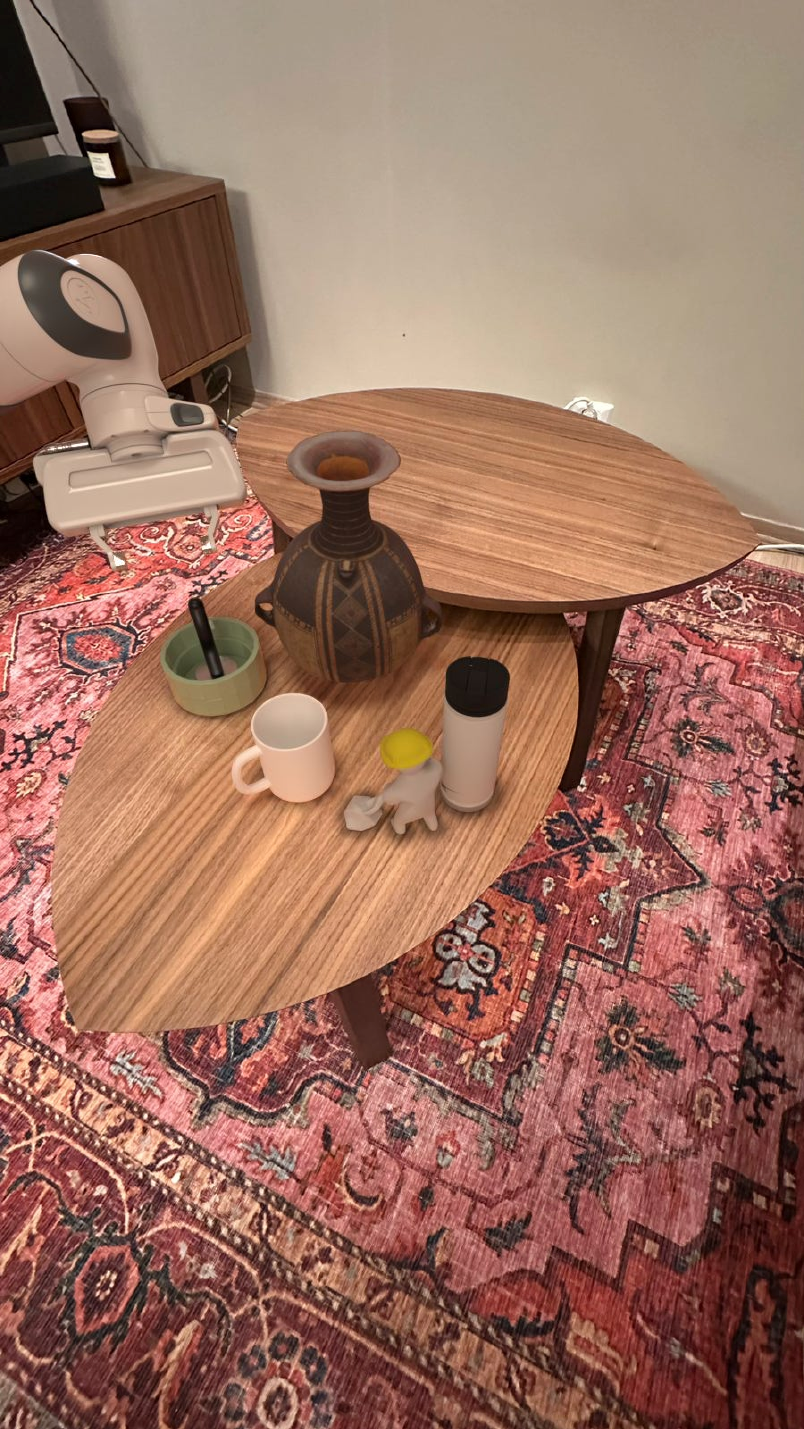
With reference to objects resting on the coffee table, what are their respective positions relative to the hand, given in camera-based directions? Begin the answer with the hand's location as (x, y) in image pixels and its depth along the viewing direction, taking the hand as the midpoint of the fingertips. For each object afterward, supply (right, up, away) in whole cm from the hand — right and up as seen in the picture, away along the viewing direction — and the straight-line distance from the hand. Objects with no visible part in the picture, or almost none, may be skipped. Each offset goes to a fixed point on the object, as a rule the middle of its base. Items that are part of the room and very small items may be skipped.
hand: (166, 561), depth 73 cm
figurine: (+24, -28, +5) cm, 37 cm away
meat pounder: (+1, -12, +18) cm, 22 cm away
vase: (+19, -9, +22) cm, 30 cm away
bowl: (+1, -12, +19) cm, 22 cm away
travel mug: (+33, -25, +7) cm, 42 cm away
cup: (+12, -25, +8) cm, 28 cm away
